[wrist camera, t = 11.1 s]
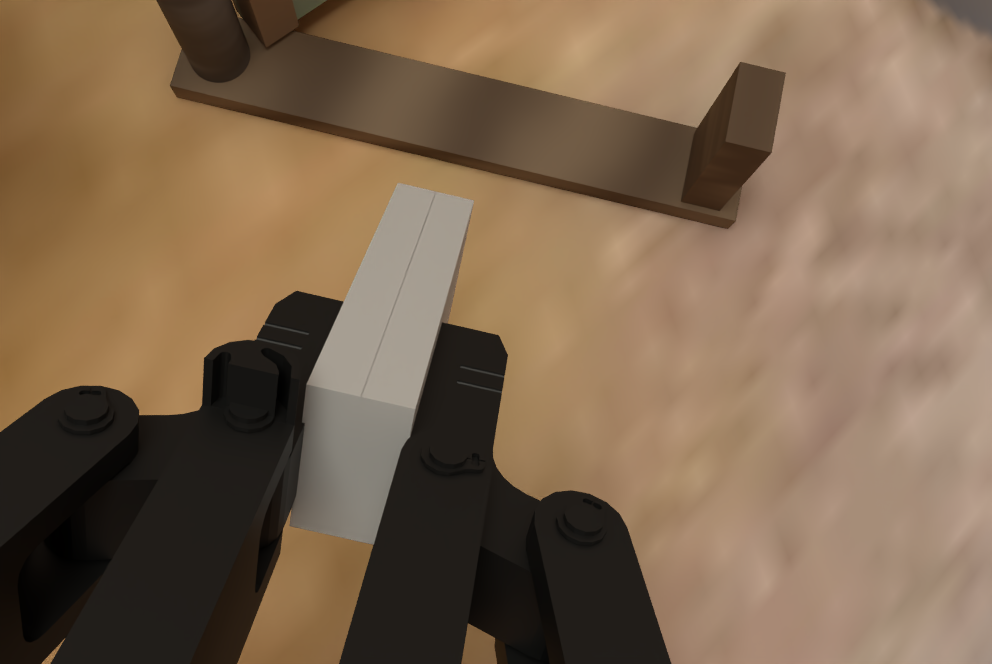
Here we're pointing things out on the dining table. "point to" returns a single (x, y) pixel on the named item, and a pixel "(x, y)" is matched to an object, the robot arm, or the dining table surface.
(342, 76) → the gate frame
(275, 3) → the gate
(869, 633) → the dining table surface
